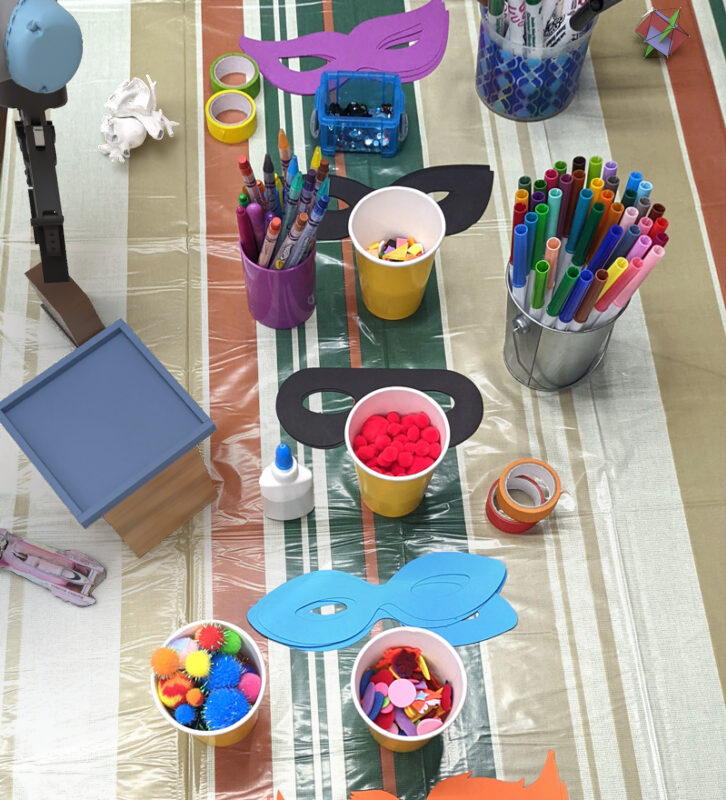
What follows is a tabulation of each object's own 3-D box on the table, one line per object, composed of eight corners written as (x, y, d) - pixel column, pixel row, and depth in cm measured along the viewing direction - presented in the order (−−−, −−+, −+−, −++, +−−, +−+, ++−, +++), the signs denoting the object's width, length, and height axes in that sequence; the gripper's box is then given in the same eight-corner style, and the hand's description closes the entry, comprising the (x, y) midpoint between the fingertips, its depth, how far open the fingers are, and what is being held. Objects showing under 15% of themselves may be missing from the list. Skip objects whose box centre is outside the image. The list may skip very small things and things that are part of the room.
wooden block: (81, 487, 108) (22, 417, 89) (160, 428, 111) (120, 349, 92) (138, 558, 105) (90, 501, 86) (219, 496, 108) (189, 428, 89)
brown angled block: (44, 313, 117) (17, 269, 108) (73, 293, 118) (48, 248, 109) (87, 363, 114) (63, 323, 105) (117, 343, 115) (95, 301, 106)
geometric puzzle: (699, 32, 132) (682, -14, 127) (689, 65, 130) (671, 19, 124) (653, 45, 137) (635, 1, 131) (642, 77, 134) (623, 34, 129)
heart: (139, 61, 125) (176, 103, 119) (161, 99, 131) (197, 140, 125) (70, 111, 125) (104, 154, 119) (95, 146, 130) (128, 189, 125)
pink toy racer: (112, 566, 105) (103, 556, 101) (91, 609, 103) (81, 601, 99) (12, 530, 106) (0, 518, 102) (-10, 572, 104) (-24, 562, 100)
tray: (-5, 415, 90) (-11, 408, 88) (124, 325, 93) (120, 317, 92) (85, 529, 85) (80, 524, 84) (217, 430, 89) (214, 423, 88)
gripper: (77, 86, 85) (97, 297, 96) (53, 47, 104) (73, 227, 115) (-8, 85, 82) (24, 302, 93) (-16, 46, 101) (11, 230, 113)
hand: (51, 261), depth 104 cm, fingers open, 13 cm apart
